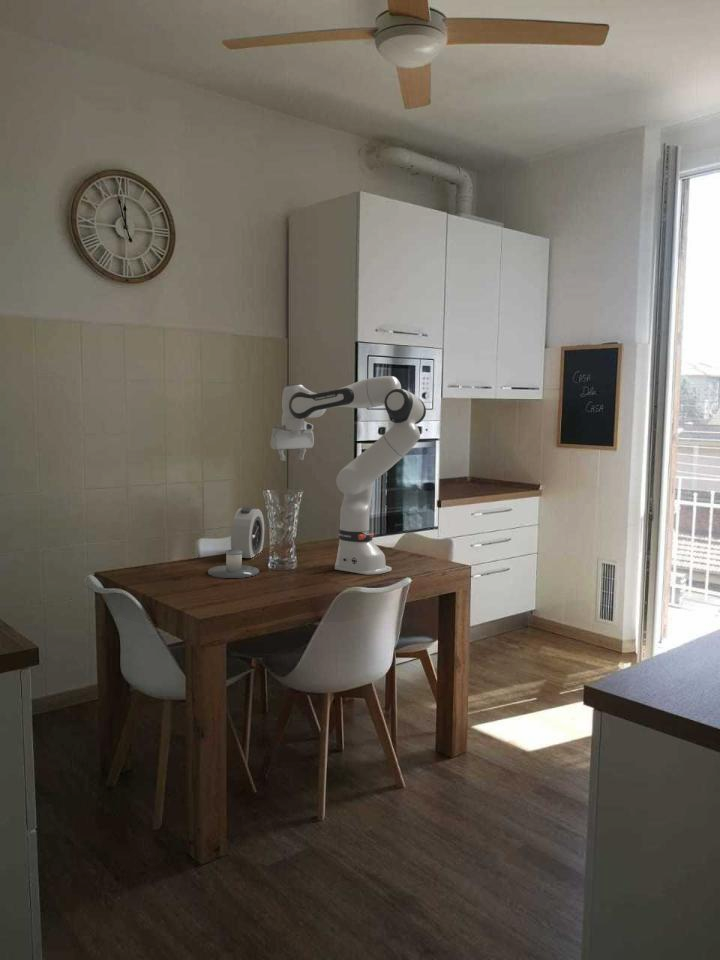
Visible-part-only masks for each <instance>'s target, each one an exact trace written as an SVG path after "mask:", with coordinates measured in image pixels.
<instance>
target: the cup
mask: <svg viewBox="0 0 720 960" xmlns="http://www.w3.org/2000/svg"><path fill="white" fill-rule="evenodd" d="M225 554H226V556H225V557H226V558H225V560H226V561H225V564H226V571H229V572H239V571H241V570H242V565H243V564H242V563H243V562H242V561H243V559H242V550H236V549H233V550H231V549H226V551H225Z"/></svg>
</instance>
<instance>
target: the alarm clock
mask: <svg viewBox="0 0 720 960" xmlns="http://www.w3.org/2000/svg"><path fill="white" fill-rule="evenodd" d="M264 542H265V520H264V515H263V513H262V510H260V509H259V508H256V507H255V506H248V505H246V506H243V507H241V508H240V507H239V508H238V509H237V510H236V512H235V513H234V517H233V520H232V524H231V531H230V548H231V549H230V550H233V549H236V550H242V558H252V557H254V556H255V555H256V554H258V553H260V552H261V551H263V548H264ZM261 553H262V552H261Z"/></svg>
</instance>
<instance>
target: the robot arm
mask: <svg viewBox="0 0 720 960" xmlns="http://www.w3.org/2000/svg"><path fill="white" fill-rule="evenodd" d="M281 397H282V398H281V409H282V414H281V425H275V426H273V428H272V430H271V438H270V448H271V449H272V450H277V452H278V455H279V459H280V461H281V462H282V461H286V460H287V456H286V455H285V453H284V452H285V450H290V449H291V450H293V449H294V450H296V449H298V450H299V451H300V453H299V454H298V455H297V456H298V458H297V459H298V460H301V461H303V460H304V459H305V454H306V452H307V449H312V448H313V447H314V446H315V445H314V443H315V437H314V431H313V430H314V424H312V423H310V422H307V421H305V419H316V418H319V417H322V416H323V415H324V414H325V413H326V412H327V410H328V409H333V408H340V407H341V408H342V407H343V408H351V409H352V408H353V409H371V408H376V407H381V406H384V407H385V410H386V413H387V415H388V418H389V421H390V422H392V426H391V427H390V428H389V429H388V430H387V431H386V432H385V433H383V435H381V436H380V437H379V438H377V440H375V442H373V443H372V445H370V446H369V447H367V448H366V449H365V450H364V451H363V452H361V453H360V454H359V455H357V456H356V457H354V459H353V460H352V461H350V462H348V464H346V466H344V467H343V468H341V470H340V471H339V472H338V473H337V475H336V478H335V483H336V487H337V489H338V490H339V491H340V492H341V493H343V498H342V503H341V506H340V514H339V515H340V518H339V519H340V520H339V522H340V523H339V529H338V534H337V535H338V539H339V541H338V546H337V547H338V549H337V555H336V561H335V564H334V570H338V571H344V572H348V573H349V572H350V573H356V574H361V575H367V576H368V575H380V574H384V573H388V572H391V571H392V566H388V565H386V564H387V563H386V556H385V553H384V552H383V550H381V549H380V547H379V546H378V545H377V544H376V543H375V542H374V541H373V537H375V533H372V532H371V530H370V517H371V515H370V513H371V503H372V497H373V490H374V483H375V481H376V480H378V479H379V478H380V477H381V476H382V475H385V473H386V472H388V471H389V470H390V469H391V468H392V467H394V466H395V465H396V464H397V463H398V462H399V461H400V460H401V459H403V458H404V457H406V455H407V454H409V452H410V451H411V450H412V449H413V448H414V446H415V445H416V444H417V442H418V441H419V440H420V439H421V433H420V429H419V427H418V426H417V424H419V423H421V422H423V420H424V419H425V417H426V414H427V408H426V405H425V403H424V402H423V401H422V400H421V399H420V398H418V397H417V396H416V394H414V393H413V392H410V391H408V390H406V389H404V388H402V385H401V382H400V380H399V379H398V377H396V376H393V375H383V376H375V377H370V378H365V379H362V380H360V381H356V382H353V383H351V384H348V385H346V386H343V387H340V388H338V389H337V388H336V389H333V390H328V391H324V392H323V391H322V392H319V393H317V392H314V391H312V390H309V389H308V388H306V387H305V386H304V385H303V384H298V383H297V384H289V385H287V386H285V387H284V389H283V391H282V396H281Z"/></svg>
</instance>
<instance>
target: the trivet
mask: <svg viewBox="0 0 720 960" xmlns="http://www.w3.org/2000/svg"><path fill="white" fill-rule="evenodd" d="M258 573H259V574H260V570H259V568H257V567H255V566H251V565H245V564H242V570H241V571H239V572H229V571H226V565H224V564H223V565H217V566H213V567H211V568H210V567H209V569H208V571H207V574H208V576H210V575H211V576H210V577H213V578H217V577H218V578H217V579H225V578H240V579H246V578H245V577H249V578H252V577H251V576H253V577H255V575H256V576H258V575H259V574H258ZM257 574H258V575H257Z"/></svg>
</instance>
